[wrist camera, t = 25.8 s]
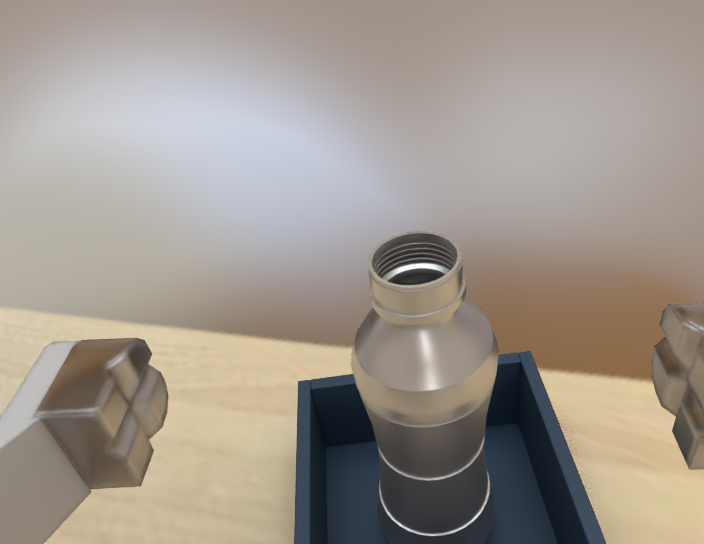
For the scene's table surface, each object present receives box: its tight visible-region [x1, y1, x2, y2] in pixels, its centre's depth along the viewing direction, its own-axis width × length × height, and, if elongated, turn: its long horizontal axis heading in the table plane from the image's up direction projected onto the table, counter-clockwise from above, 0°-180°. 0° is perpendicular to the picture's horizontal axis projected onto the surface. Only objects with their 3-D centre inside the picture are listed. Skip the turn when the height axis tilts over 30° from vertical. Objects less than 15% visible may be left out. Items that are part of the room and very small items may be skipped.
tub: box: [294, 351, 606, 544], centre depth 34 cm, size 15×15×7 cm
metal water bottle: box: [351, 231, 499, 544], centre depth 30 cm, size 6×7×20 cm
